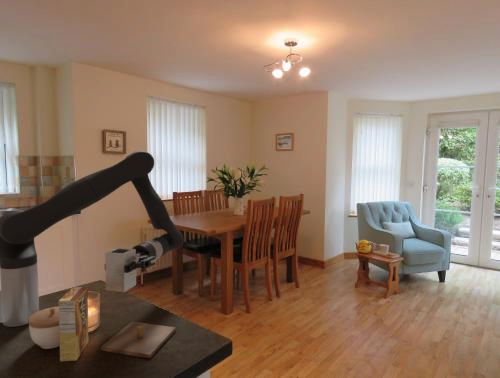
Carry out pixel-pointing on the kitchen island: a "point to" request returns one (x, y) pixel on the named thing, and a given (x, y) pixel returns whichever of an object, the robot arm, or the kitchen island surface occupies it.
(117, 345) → the hub plate
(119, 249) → the steel sleeve
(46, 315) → the lidded jar
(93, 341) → the kitchen island surface
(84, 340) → the candy box
